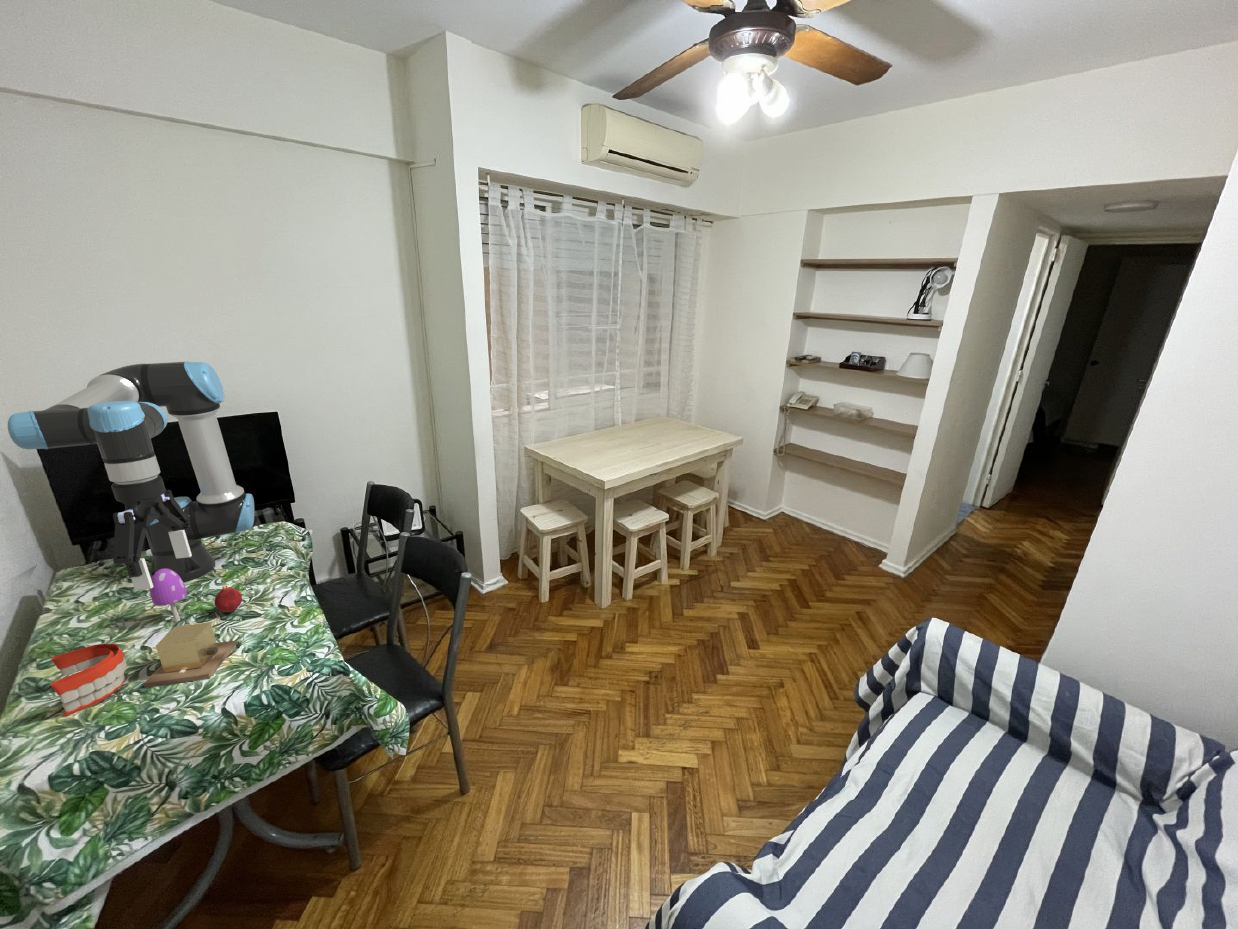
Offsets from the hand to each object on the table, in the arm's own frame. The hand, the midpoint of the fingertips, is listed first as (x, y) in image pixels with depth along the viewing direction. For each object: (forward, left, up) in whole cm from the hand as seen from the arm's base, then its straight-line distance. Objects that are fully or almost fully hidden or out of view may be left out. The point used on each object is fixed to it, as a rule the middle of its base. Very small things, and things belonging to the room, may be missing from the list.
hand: (165, 572), depth 106 cm
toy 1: (+4, -15, -24) cm, 29 cm away
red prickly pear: (-22, -2, -24) cm, 32 cm away
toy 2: (-21, -14, -24) cm, 35 cm away
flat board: (0, 0, -24) cm, 24 cm away
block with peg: (0, 0, -22) cm, 22 cm away
